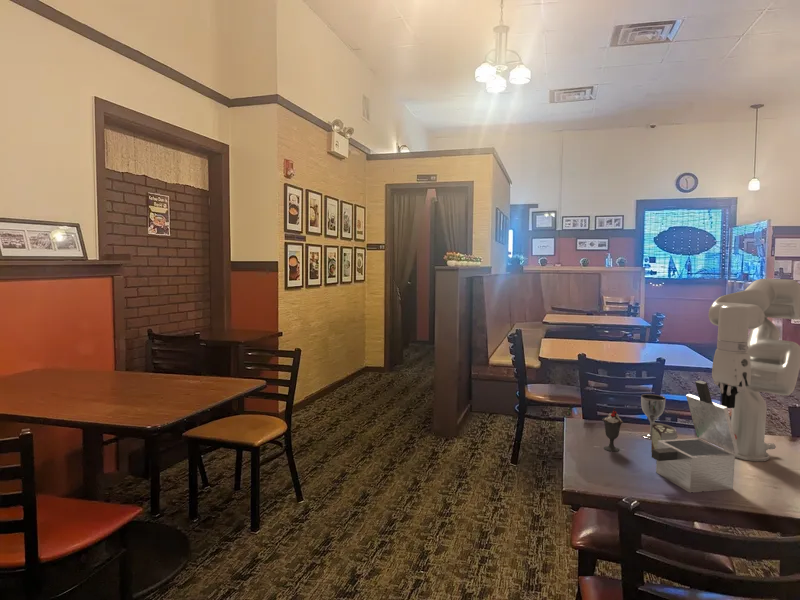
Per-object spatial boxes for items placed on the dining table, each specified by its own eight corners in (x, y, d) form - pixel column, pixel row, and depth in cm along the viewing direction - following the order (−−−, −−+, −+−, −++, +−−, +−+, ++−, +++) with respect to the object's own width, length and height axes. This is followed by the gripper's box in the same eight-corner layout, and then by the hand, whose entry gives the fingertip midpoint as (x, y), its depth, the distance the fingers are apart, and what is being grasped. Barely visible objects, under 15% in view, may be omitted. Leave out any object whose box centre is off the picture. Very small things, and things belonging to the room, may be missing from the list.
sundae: (611, 454, 173) (613, 409, 172) (596, 447, 179) (598, 404, 178) (626, 451, 176) (628, 407, 175) (611, 444, 182) (613, 402, 181)
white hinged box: (696, 469, 161) (697, 437, 160) (732, 489, 147) (735, 454, 147) (638, 473, 157) (639, 441, 156) (670, 494, 144) (672, 459, 143)
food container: (681, 466, 164) (683, 435, 163) (660, 464, 165) (662, 433, 164) (669, 452, 176) (671, 423, 175) (650, 450, 177) (651, 421, 176)
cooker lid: (697, 437, 160) (705, 433, 161) (735, 454, 146) (744, 450, 147) (681, 377, 158) (689, 373, 158) (718, 389, 144) (727, 385, 144)
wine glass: (667, 440, 187) (669, 399, 185) (645, 440, 187) (647, 399, 185) (656, 433, 194) (658, 394, 193) (635, 433, 195) (637, 393, 193)
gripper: (764, 350, 147) (760, 414, 149) (722, 342, 162) (718, 400, 163) (742, 351, 146) (738, 415, 147) (701, 343, 161) (698, 401, 162)
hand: (727, 407), depth 155 cm, fingers closed
